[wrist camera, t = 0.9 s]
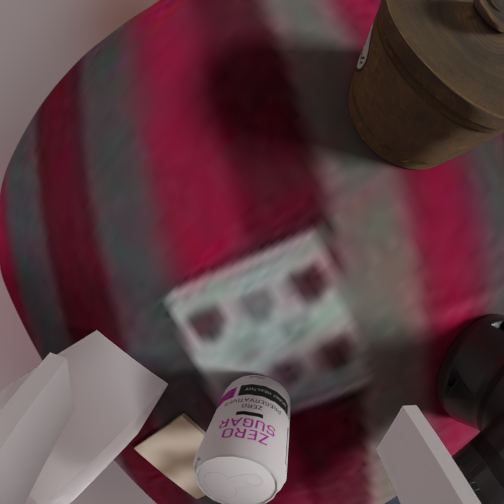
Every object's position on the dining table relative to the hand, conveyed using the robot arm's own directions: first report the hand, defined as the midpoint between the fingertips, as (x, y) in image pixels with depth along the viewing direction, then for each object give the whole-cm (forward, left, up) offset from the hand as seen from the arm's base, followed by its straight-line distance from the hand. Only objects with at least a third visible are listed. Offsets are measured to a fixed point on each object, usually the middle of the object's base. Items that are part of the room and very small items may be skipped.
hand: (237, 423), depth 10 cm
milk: (+5, +25, -25) cm, 36 cm away
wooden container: (+5, -26, -25) cm, 36 cm away
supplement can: (-8, +11, -25) cm, 28 cm away
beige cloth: (-10, +26, -24) cm, 37 cm away
